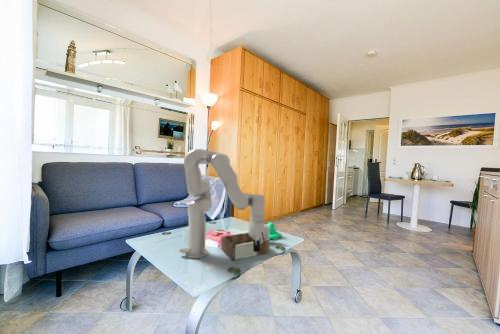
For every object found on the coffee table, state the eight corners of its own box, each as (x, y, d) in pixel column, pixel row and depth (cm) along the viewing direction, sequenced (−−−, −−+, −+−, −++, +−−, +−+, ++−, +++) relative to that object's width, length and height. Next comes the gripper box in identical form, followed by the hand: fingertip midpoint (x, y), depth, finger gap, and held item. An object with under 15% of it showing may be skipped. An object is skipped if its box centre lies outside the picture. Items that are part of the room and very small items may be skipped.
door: (234, 260, 117) (235, 246, 117) (233, 258, 119) (233, 245, 119) (257, 255, 124) (258, 242, 124) (255, 253, 126) (256, 241, 126)
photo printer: (268, 241, 148) (269, 223, 148) (269, 243, 144) (270, 225, 144) (253, 241, 147) (254, 223, 147) (254, 243, 143) (255, 225, 142)
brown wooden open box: (231, 260, 118) (232, 246, 117) (221, 249, 132) (221, 236, 131) (268, 253, 129) (269, 239, 129) (255, 243, 143) (255, 231, 143)
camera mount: (268, 241, 149) (269, 226, 149) (262, 237, 155) (262, 223, 155) (282, 238, 156) (282, 223, 155) (275, 234, 162) (275, 221, 162)
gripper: (244, 215, 122) (244, 247, 122) (258, 222, 109) (257, 258, 109) (256, 213, 125) (255, 245, 126) (270, 220, 112) (270, 255, 113)
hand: (256, 251), depth 118 cm, fingers closed
